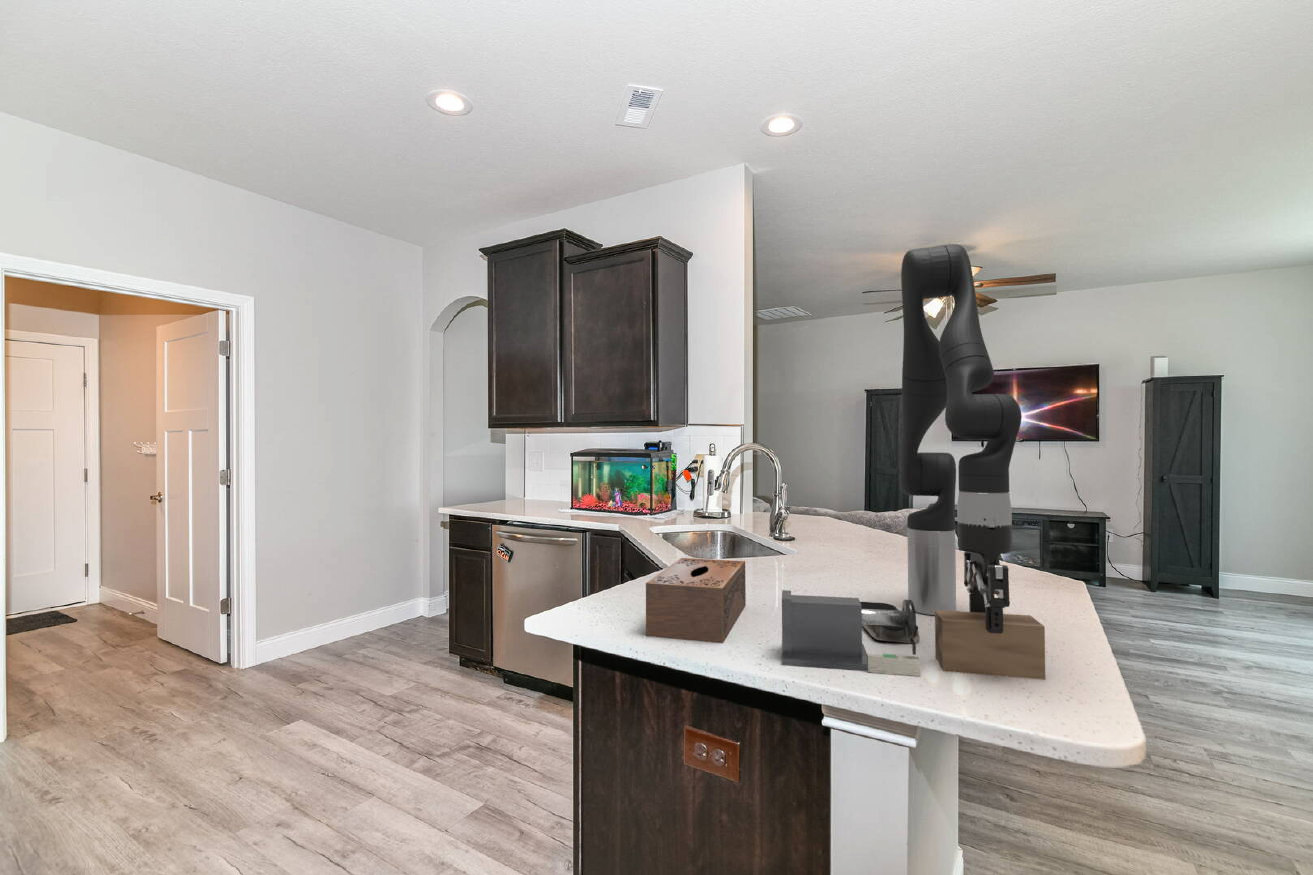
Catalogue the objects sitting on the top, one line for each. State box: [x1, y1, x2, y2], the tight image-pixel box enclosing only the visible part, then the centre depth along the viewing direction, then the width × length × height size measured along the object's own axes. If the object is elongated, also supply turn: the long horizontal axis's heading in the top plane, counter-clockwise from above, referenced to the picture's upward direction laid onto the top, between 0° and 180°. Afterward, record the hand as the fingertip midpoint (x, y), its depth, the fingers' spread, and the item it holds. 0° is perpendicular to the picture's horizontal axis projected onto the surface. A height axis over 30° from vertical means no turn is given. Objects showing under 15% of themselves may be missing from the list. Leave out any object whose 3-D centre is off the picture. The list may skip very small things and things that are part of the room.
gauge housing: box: [781, 589, 921, 677], centre depth 98 cm, size 11×20×10 cm, turn 77°
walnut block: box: [934, 610, 1046, 681], centre depth 94 cm, size 6×14×8 cm, turn 76°
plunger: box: [862, 599, 917, 656], centre depth 97 cm, size 8×13×7 cm, turn 77°
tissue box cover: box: [645, 557, 747, 644], centre depth 121 cm, size 26×14×10 cm, turn 163°
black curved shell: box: [860, 601, 920, 644], centre depth 113 cm, size 16×8×4 cm, turn 176°
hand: (985, 624), depth 94 cm, fingers open, 8 cm apart
